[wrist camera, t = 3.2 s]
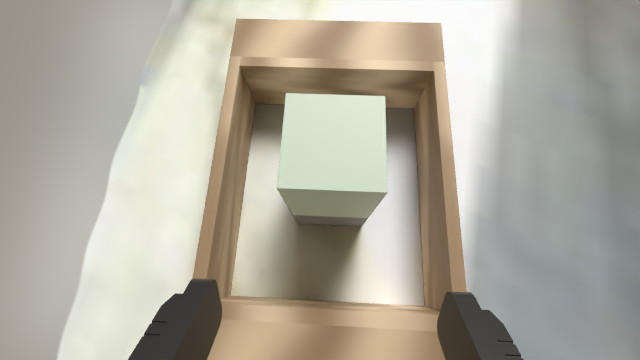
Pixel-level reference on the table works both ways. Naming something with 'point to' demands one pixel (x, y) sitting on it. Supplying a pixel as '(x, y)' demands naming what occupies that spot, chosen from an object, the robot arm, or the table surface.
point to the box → (333, 157)
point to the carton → (433, 183)
